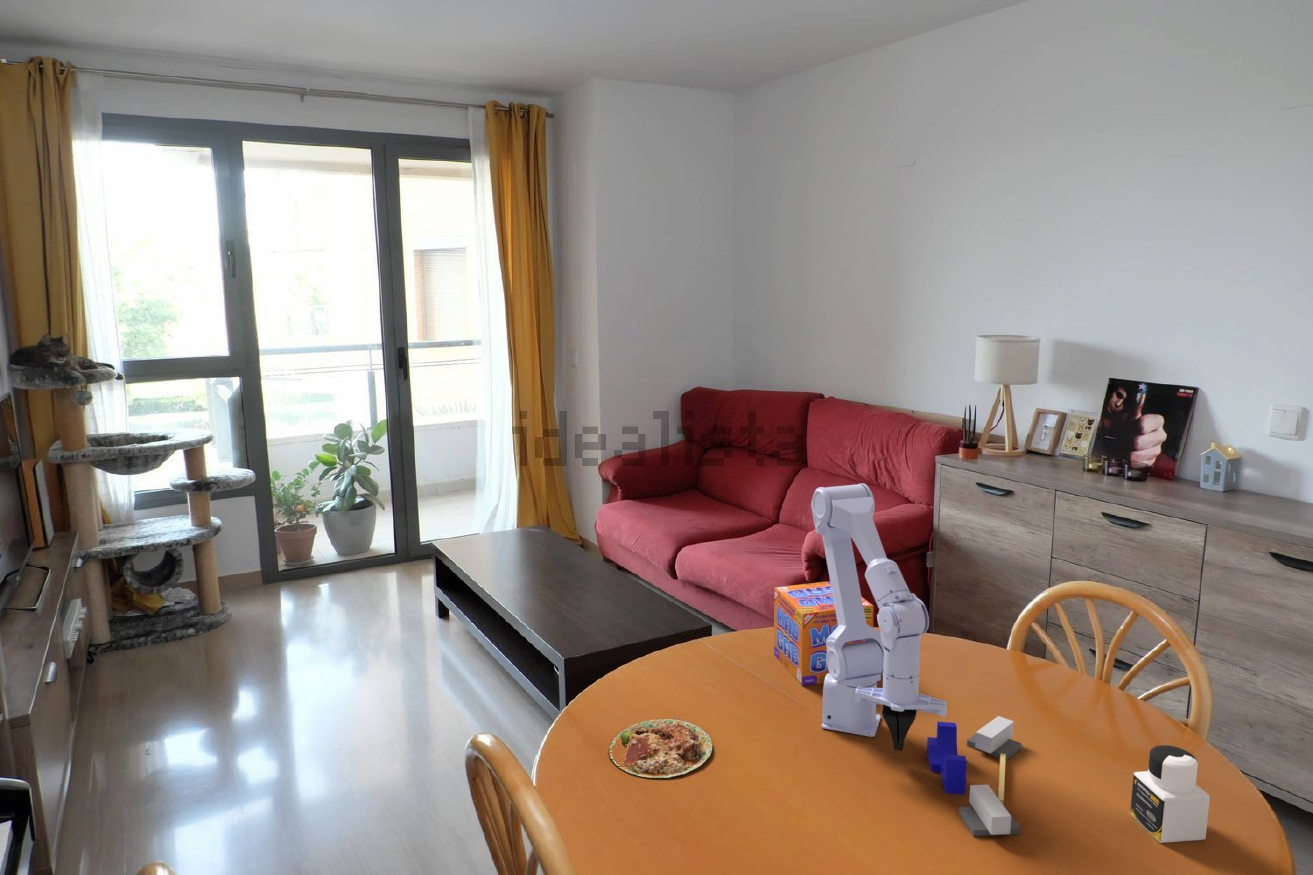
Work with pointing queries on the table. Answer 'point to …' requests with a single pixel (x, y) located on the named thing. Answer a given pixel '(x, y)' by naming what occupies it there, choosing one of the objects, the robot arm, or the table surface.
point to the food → (663, 747)
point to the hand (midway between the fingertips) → (898, 747)
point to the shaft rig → (986, 806)
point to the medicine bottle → (1170, 797)
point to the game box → (807, 628)
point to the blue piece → (947, 758)
